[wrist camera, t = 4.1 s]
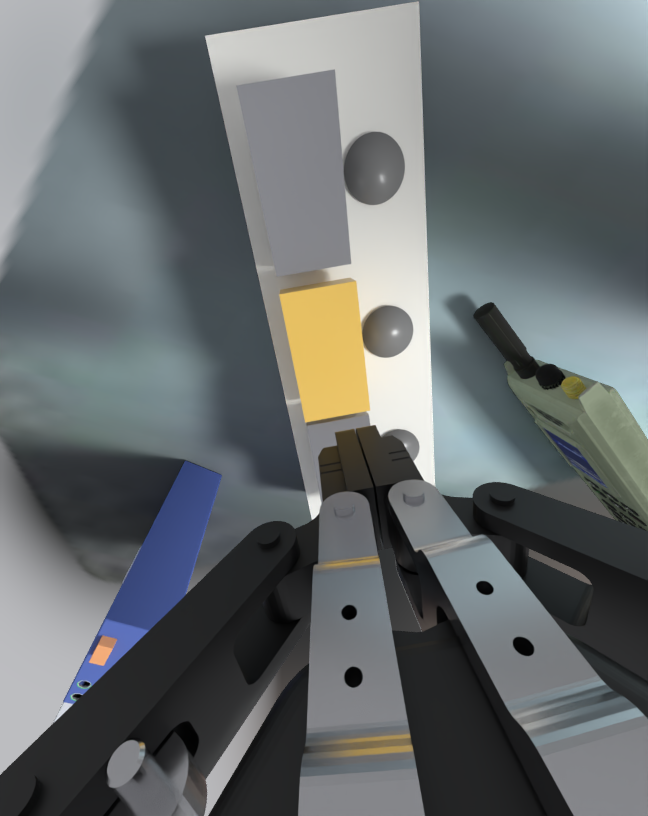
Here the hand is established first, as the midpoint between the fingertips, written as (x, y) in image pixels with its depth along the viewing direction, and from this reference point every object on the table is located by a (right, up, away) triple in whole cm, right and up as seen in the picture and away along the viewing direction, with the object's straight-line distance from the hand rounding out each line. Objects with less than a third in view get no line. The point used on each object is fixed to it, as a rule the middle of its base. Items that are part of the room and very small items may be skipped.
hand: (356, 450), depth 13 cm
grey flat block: (-2, +11, +2) cm, 12 cm away
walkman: (-11, -6, +13) cm, 18 cm away
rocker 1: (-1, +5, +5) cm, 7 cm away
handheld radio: (+17, 0, +14) cm, 22 cm away
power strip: (0, +7, +9) cm, 11 cm away
